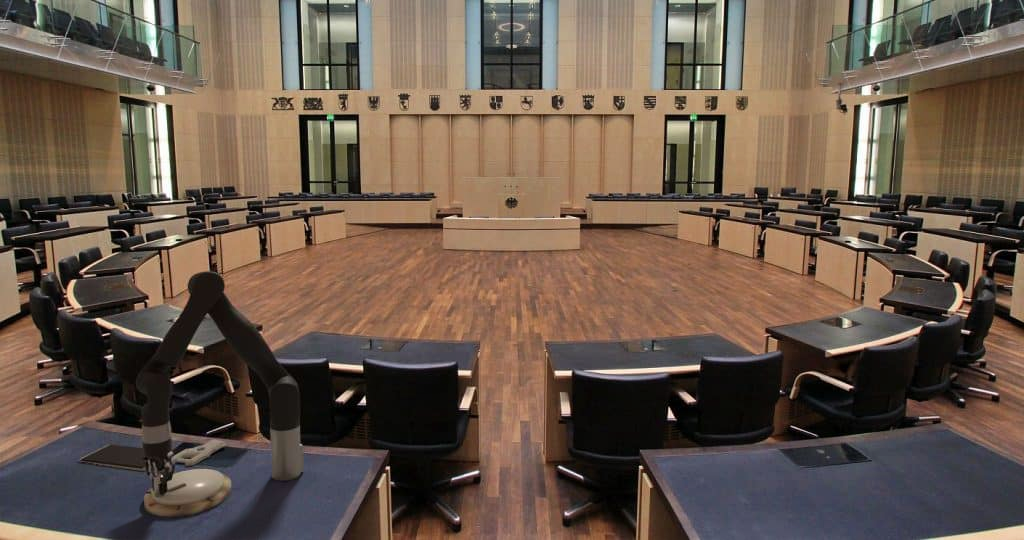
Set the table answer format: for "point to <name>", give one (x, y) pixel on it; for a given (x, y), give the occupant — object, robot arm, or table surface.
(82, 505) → the table surface
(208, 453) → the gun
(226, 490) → the dial base
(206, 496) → the dial
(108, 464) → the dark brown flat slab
